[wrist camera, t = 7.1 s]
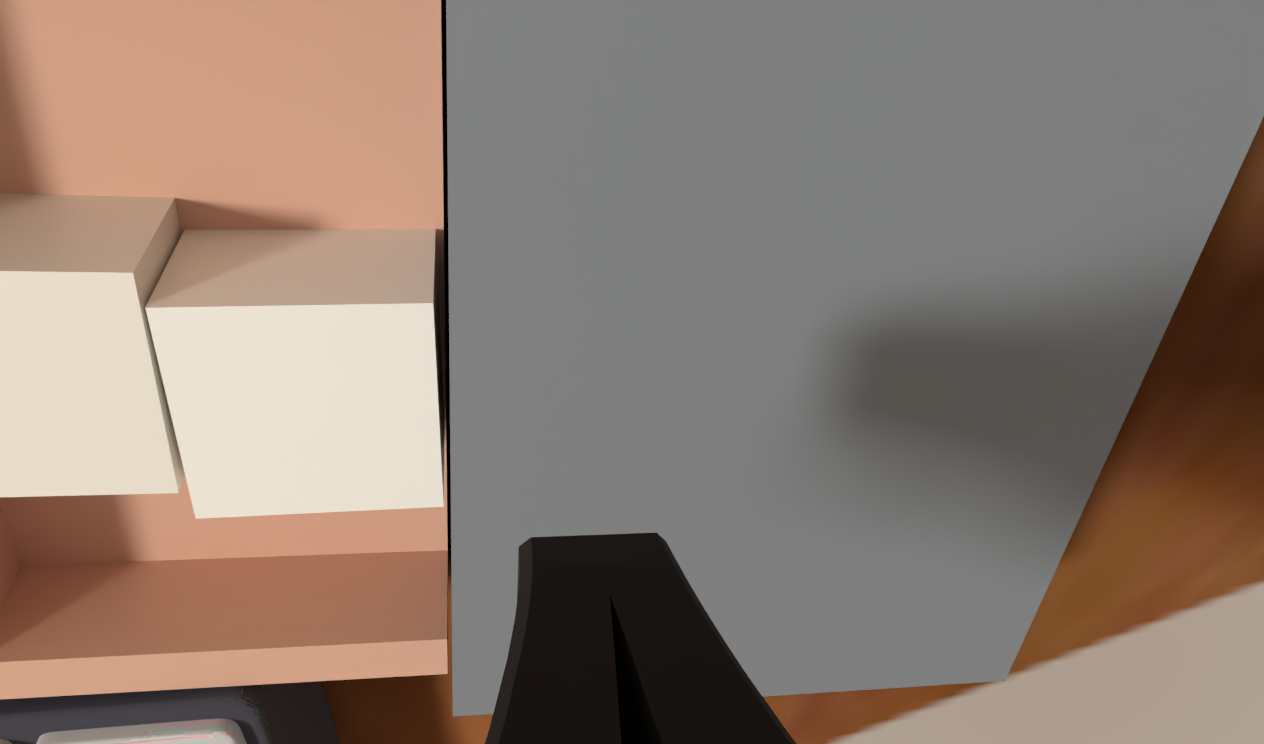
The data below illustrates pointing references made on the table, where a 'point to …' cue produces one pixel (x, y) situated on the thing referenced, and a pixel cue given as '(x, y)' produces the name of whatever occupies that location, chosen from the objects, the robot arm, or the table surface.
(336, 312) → the tile
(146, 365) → the tile
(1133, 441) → the table surface
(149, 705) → the calculator
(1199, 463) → the table surface
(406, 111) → the box
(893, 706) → the table surface
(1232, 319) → the table surface
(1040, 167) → the grey rectangular block
